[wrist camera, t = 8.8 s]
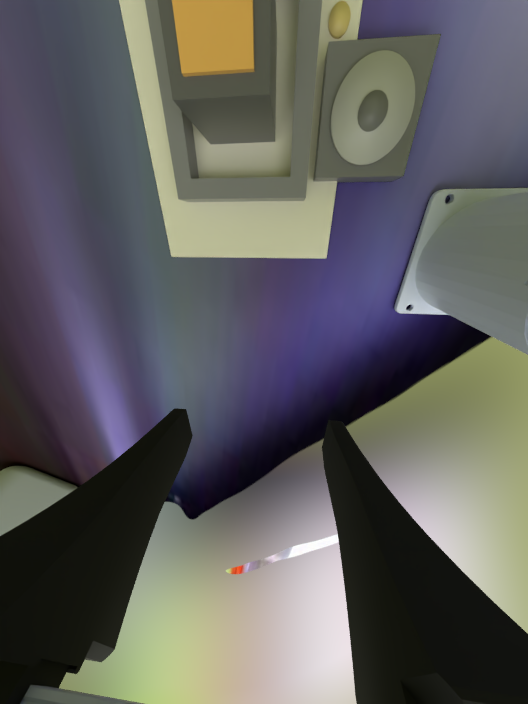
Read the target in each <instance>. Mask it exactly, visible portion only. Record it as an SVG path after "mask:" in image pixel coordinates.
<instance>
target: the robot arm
mask: <svg viewBox="0 0 528 704" xmlns="http://www.w3.org/2000/svg"><path fill="white" fill-rule="evenodd" d="M448 195H449V196H450V200H449V202H448V203H447V204H446V203H445V198H446V196H448ZM408 305H411V307H410V308H409V309H406V307H407V306H408ZM394 309H395V311H397V312H398V313H406V314H440V315H451V316H453V317H455V318H456V319H458V320H460V321H462V322H464V323H466V324H468V325H470V326H472V327H474V328H476V329H478V330H480V331H482V332H484V333H486V334H488V335H490V336H492V337H494V338H496V339H498V340H500V341H502V342H504V343H506V344H508V345H510V346H512V347H514V348H516V349H518V350H520V351H522V352H524V353H526V354H527V355H528V188H492V189H443V190H439V191H436V192H435V193H434V194H433V195H432V196H431V198H430V200H429V202H428V206H427V209H426V212H425V215H424V218H423V221H422V224H421V227H420V230H419V233H418V236H417V239H416V242H415V245H414V248H413V251H412V254H411V258H410V261H409V264H408V267H407V270H406V273H405V276H404V279H403V282H402V285H401V288H400V291H399V294H398V297H397V300H396V303H395V307H394ZM191 439H192V432H191V428H190V424H189V419H188V415H187V411H186V409H173V410H172V411H171V412H170V413H169V414H168V415H167V416H166V417H164V418H163V419H162V420H161V421H160V422H159V423H158V424H157V425H156V426H155V427H153V428H152V429H151V430H150V431H149V432H148V433H147V434H146V435H144V436H143V437H142V438H141V439H140V440H139V441H138V442H137V443H135V444H134V445H133V446H132V447H131V448H129V449H128V450H127V451H126V452H125V453H123V454H122V455H121V456H120V457H118V458H117V459H116V460H115V461H113V462H112V463H111V464H110V465H108V466H107V467H106V468H104V469H103V470H102V471H100V472H99V473H98V474H96V475H95V476H94V477H92V478H91V479H90V480H88V481H87V482H85V483H84V484H82V485H81V486H80V487H78V488H77V489H75V490H74V491H72V492H71V493H69V494H68V495H66V496H64V497H63V498H61V499H60V500H58V501H57V502H55V503H54V504H52V505H51V506H49V507H48V508H46V509H45V510H43V511H41V512H40V513H38V514H36V515H35V516H33V517H32V518H30V519H28V520H27V521H25V522H23V523H22V524H20V525H18V526H17V527H15V528H13V529H11V530H10V531H8V532H6V533H5V534H3V535H1V536H0V704H143V703H137V702H131V701H126V700H121V699H115V698H110V697H104V696H99V695H93V694H87V693H82V692H76V691H71V690H65V689H59V686H60V684H61V682H62V680H63V678H64V676H65V674H66V672H68V673H74V674H77V673H78V672H79V670H80V668H81V666H82V664H83V662H84V659H86V660H92V661H98V662H102V661H103V660H105V659H106V658H107V657H108V656H109V655H110V654H111V653H112V652H113V650H114V649H115V646H116V643H117V639H118V635H119V632H120V629H121V626H122V623H123V619H124V616H125V613H126V609H127V606H128V603H129V600H130V596H131V593H132V590H133V587H134V584H135V581H136V578H137V575H138V572H139V568H140V566H141V563H142V560H143V557H144V554H145V551H146V549H147V546H148V543H149V540H150V537H151V534H152V532H153V529H154V527H155V523H156V521H157V519H158V516H159V513H160V511H161V509H162V506H163V504H164V502H165V500H166V498H167V495H168V493H169V491H170V489H171V487H172V485H173V483H174V480H175V478H176V476H177V474H178V472H179V470H180V468H181V465H182V463H183V461H184V459H185V457H186V454H187V451H188V448H189V445H190V442H191ZM322 451H323V460H324V469H325V474H326V479H327V483H328V488H329V493H330V497H331V502H332V507H333V511H334V516H335V521H336V526H337V531H338V538H339V545H340V553H341V560H342V568H343V576H344V584H345V593H346V602H347V611H348V620H349V629H350V640H351V650H352V660H353V671H354V683H355V695H356V701H357V704H528V634H527V633H526V632H525V631H524V630H523V629H522V628H521V627H520V626H518V625H517V623H515V622H514V621H513V620H512V619H511V618H510V617H509V616H508V615H507V614H506V613H505V612H504V611H502V610H501V609H500V608H499V607H498V606H497V605H496V604H495V603H494V602H493V601H492V600H491V599H490V598H489V597H488V596H486V594H485V593H484V592H483V591H482V590H481V589H480V588H479V587H478V586H476V584H474V582H473V581H472V580H470V579H469V577H468V576H467V575H465V574H464V573H463V572H462V571H461V569H460V568H458V566H457V565H456V564H455V563H454V562H453V561H452V560H451V559H450V558H449V557H448V556H447V555H446V554H445V553H444V552H443V551H442V550H441V549H440V548H439V546H437V545H436V543H435V542H434V541H433V540H431V538H430V537H429V536H428V535H427V534H426V533H425V532H424V530H423V529H422V528H421V527H420V526H419V525H418V524H417V523H416V521H414V519H413V518H412V517H411V516H410V515H409V513H408V512H407V511H406V510H405V509H404V508H403V506H402V505H401V504H400V503H399V502H398V500H397V499H396V498H395V497H394V495H393V494H392V493H391V492H390V490H389V489H388V488H387V487H386V485H385V484H384V483H383V481H382V480H381V479H380V477H379V476H378V475H377V473H376V472H375V471H374V469H373V468H372V466H371V465H370V464H369V462H368V461H367V459H366V458H365V456H364V455H363V454H362V452H361V451H360V449H359V448H358V446H357V445H356V443H355V441H354V440H353V438H352V437H351V435H350V434H349V432H348V430H347V429H346V427H345V425H344V424H343V423H342V421H331V420H329V421H328V425H327V429H326V433H325V437H324V441H323V446H322Z"/></svg>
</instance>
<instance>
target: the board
mask: <svg viewBox="0 0 528 704" xmlns="http://www.w3.org/2000/svg"><path fill="white" fill-rule="evenodd" d="M362 1H363V0H276V21H277V64H276V128H275V142H258V143H234V144H210V143H209V142H208V141H207V140H206V138H205V137H204V136H203V135H202V134H201V133H200V131H199V130H198V129H197V128H196V127H195V126H194V124H193V123H192V122H191V121H190V120H189V119H188V117H187V116H186V115H185V114H184V113H183V112H182V110H181V109H180V108H179V107H178V106H177V105H176V103H175V102H174V101H173V99H172V92H171V86H170V79H169V73H168V66H167V60H166V53H165V47H164V40H163V34H162V27H161V21H160V14H159V8H158V1H157V0H119V3H120V8H121V12H122V17H123V22H124V27H125V32H126V37H127V42H128V47H129V51H130V56H131V61H132V66H133V71H134V76H135V81H136V86H137V91H138V95H139V100H140V105H141V110H142V115H143V120H144V125H145V130H146V134H147V139H148V144H149V149H150V154H151V159H152V164H153V169H154V173H155V178H156V183H157V188H158V193H159V198H160V203H161V208H162V213H163V217H164V222H165V227H166V232H167V237H168V242H169V247H170V252H171V256H172V257H231V258H325V259H326V258H327V251H328V244H329V237H330V230H331V222H332V215H333V208H334V201H335V194H336V187H337V181H320V182H313V180H314V169H315V159H316V148H317V138H318V127H319V117H320V106H321V95H322V85H323V74H324V64H325V56H326V52H327V47H328V43H329V42H330V41H345V40H357V37H358V30H359V23H360V16H361V8H362Z"/></svg>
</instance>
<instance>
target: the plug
mask: <svg viewBox="0 0 528 704" xmlns="http://www.w3.org/2000/svg"><path fill="white" fill-rule="evenodd" d="M157 1H158V8H159V14H160V21H161V27H162V34H163V40H164V47H165V53H166V60H167V66H168V73H169V79H170V86H171V92H172V99H173V101H174V102H175V103H176V105H177V106H178V107H179V108H180V109H181V110H182V112H183V113H184V114H185V115H186V116H187V117H188V119H189V120H190V121H191V122H192V123H193V124H194V126H195V127H196V128H197V129H198V130H199V131H200V133H201V134H202V135H203V136H204V137H205V138H206V140H207V141H208V142H209V143H210V144H234V143H258V142H275V128H276V64H277V21H276V0H157Z"/></svg>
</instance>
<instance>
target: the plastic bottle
mask: <svg viewBox="0 0 528 704" xmlns="http://www.w3.org/2000/svg"><path fill="white" fill-rule="evenodd" d="M77 488H78V487H77V486H75V485H73V484H70V483H68V482H65V481H63V480H60V479H58V478H55V477H53V476H50V475H48V474H45V473H43V472H40V471H38V470H35V469H32V468H29V467H25V466H11V467H8V468H5V469H3V470H2V471H0V536H1V535H3V534H5V533H6V532H8V531H10V530H11V529H13V528H15V527H17V526H18V525H20V524H22V523H23V522H25V521H27V520H28V519H30V518H32V517H33V516H35V515H36V514H38V513H40V512H41V511H43V510H45V509H46V508H48V507H49V506H51V505H52V504H54V503H55V502H57V501H58V500H60V499H61V498H63V497H64V496H66V495H68V494H69V493H71V492H72V491H74V490H75V489H77Z"/></svg>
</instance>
